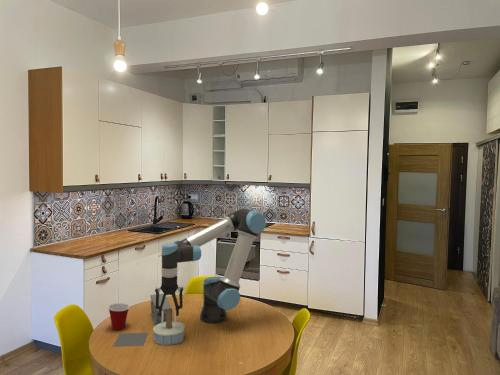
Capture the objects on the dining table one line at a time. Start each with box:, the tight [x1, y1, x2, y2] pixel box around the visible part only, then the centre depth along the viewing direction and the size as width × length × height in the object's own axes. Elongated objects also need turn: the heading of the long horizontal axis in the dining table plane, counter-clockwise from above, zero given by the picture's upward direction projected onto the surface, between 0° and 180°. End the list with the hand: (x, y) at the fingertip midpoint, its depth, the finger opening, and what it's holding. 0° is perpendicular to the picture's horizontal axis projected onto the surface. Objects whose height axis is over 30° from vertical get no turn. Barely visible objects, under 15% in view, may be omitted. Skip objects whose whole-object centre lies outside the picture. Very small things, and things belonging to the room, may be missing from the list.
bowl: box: [153, 330, 185, 346], centre depth 180 cm, size 14×14×5 cm
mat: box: [112, 332, 149, 348], centre depth 179 cm, size 14×14×1 cm
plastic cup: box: [107, 302, 131, 331], centre depth 191 cm, size 11×11×12 cm
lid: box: [152, 308, 186, 336], centre depth 180 cm, size 15×15×10 cm
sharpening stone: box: [150, 293, 173, 326], centre depth 202 cm, size 25×8×11 cm, turn 22°
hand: (169, 322), depth 180 cm, fingers open, 5 cm apart
